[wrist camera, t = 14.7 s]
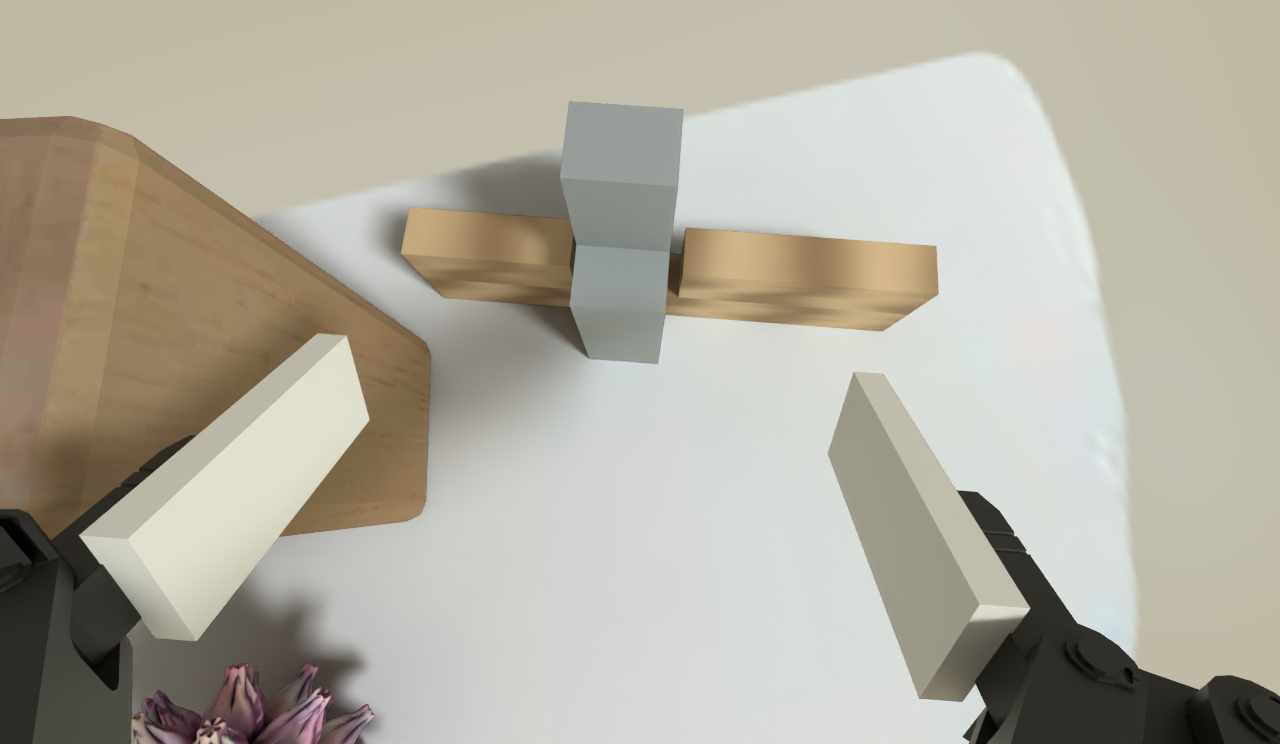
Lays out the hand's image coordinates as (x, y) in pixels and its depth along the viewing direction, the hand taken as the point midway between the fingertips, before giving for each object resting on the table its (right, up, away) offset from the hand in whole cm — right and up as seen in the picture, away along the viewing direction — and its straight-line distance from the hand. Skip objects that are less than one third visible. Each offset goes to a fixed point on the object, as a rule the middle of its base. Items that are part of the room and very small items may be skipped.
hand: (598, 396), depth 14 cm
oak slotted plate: (+3, +5, +18) cm, 19 cm away
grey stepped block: (+1, +5, +18) cm, 19 cm away
